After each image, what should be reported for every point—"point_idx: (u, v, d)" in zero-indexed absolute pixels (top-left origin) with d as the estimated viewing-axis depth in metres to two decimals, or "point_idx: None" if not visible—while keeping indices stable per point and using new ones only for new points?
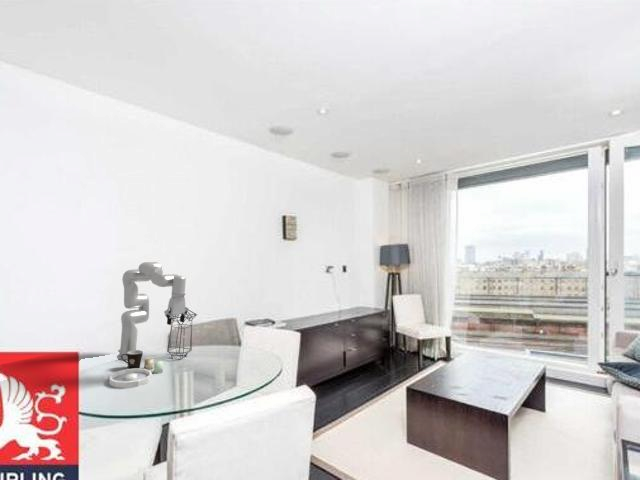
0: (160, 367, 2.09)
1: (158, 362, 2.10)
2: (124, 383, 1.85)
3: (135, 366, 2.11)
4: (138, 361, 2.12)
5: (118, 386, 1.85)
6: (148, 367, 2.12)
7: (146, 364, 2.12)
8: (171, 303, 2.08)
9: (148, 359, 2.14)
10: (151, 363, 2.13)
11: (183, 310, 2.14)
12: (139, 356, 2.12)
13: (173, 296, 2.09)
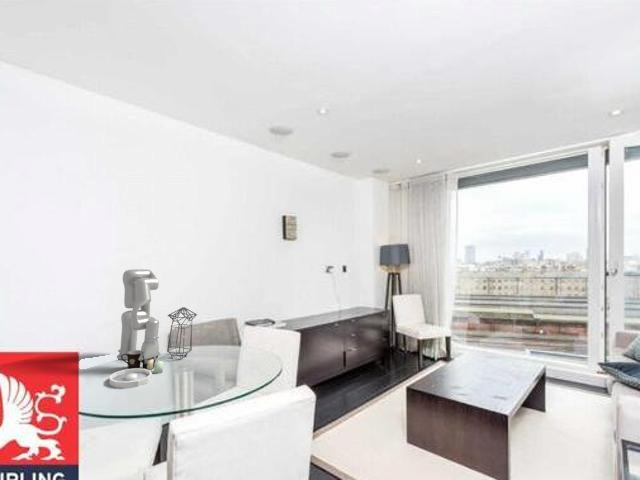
0: (160, 367, 2.09)
1: (158, 362, 2.10)
2: (124, 383, 1.85)
3: (135, 366, 2.11)
4: (138, 361, 2.12)
5: (118, 386, 1.85)
6: (148, 367, 2.12)
7: None
8: (144, 348, 2.10)
9: (148, 359, 2.14)
10: (151, 363, 2.13)
11: (156, 353, 2.16)
12: (139, 356, 2.12)
13: (146, 340, 2.11)
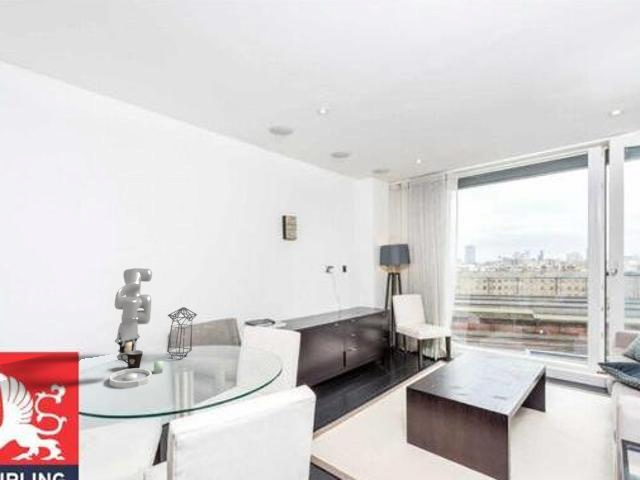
0: (160, 367, 2.09)
1: (158, 362, 2.10)
2: (124, 383, 1.85)
3: (135, 366, 2.11)
4: (138, 361, 2.12)
5: (118, 386, 1.85)
6: (126, 350, 1.96)
7: None
8: (121, 329, 1.94)
9: (126, 341, 1.98)
10: (129, 346, 1.97)
11: (135, 335, 2.01)
12: (139, 356, 2.12)
13: (123, 321, 1.96)
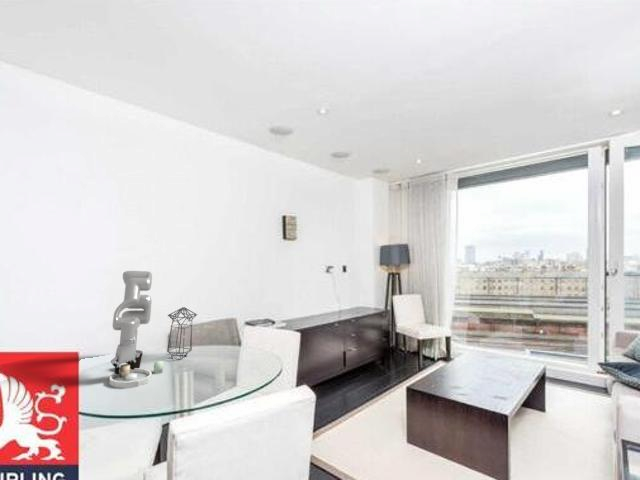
0: (160, 367, 2.09)
1: (158, 362, 2.10)
2: (124, 383, 1.85)
3: (135, 366, 2.11)
4: (138, 361, 2.12)
5: (118, 386, 1.85)
6: (124, 374, 1.96)
7: (121, 371, 1.96)
8: (119, 351, 1.94)
9: (124, 365, 1.98)
10: (127, 370, 1.97)
11: (133, 357, 2.00)
12: (139, 356, 2.12)
13: (121, 343, 1.95)
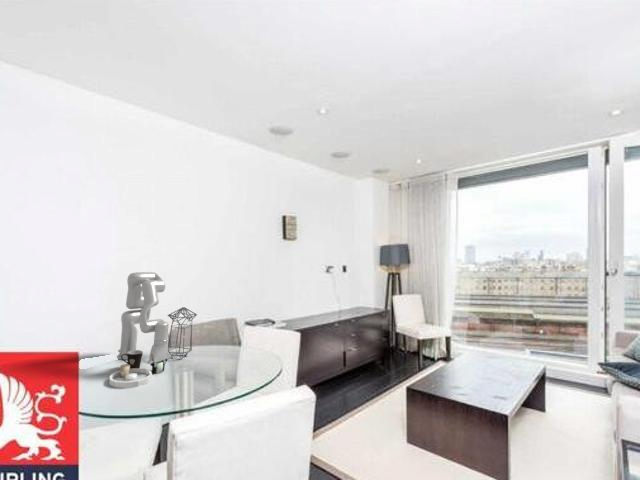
0: (160, 367, 2.08)
1: (158, 362, 2.10)
2: (124, 383, 1.85)
3: (135, 366, 2.11)
4: (138, 361, 2.12)
5: (118, 386, 1.85)
6: (124, 374, 1.96)
7: (121, 371, 1.96)
8: (153, 350, 2.06)
9: (124, 365, 1.98)
10: (127, 370, 1.97)
11: (166, 356, 2.12)
12: (139, 356, 2.12)
13: (155, 343, 2.07)
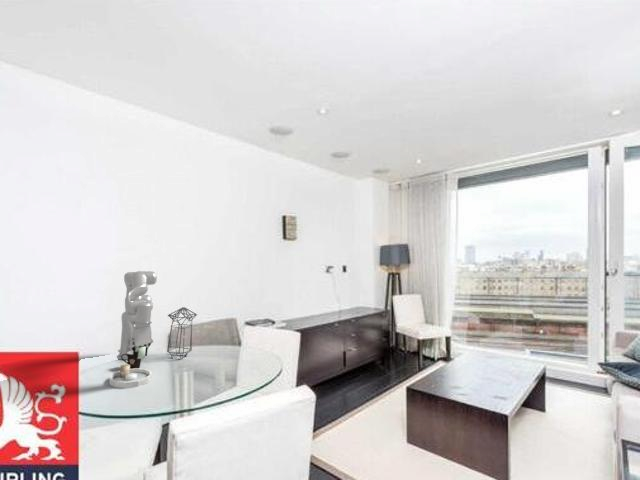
0: (142, 352, 1.91)
1: (140, 346, 1.93)
2: (124, 383, 1.85)
3: (135, 366, 2.11)
4: (138, 361, 2.12)
5: (118, 386, 1.85)
6: (124, 374, 1.96)
7: (121, 371, 1.96)
8: (134, 333, 1.89)
9: (124, 365, 1.98)
10: (127, 370, 1.97)
11: (149, 340, 1.95)
12: None
13: (137, 325, 1.90)
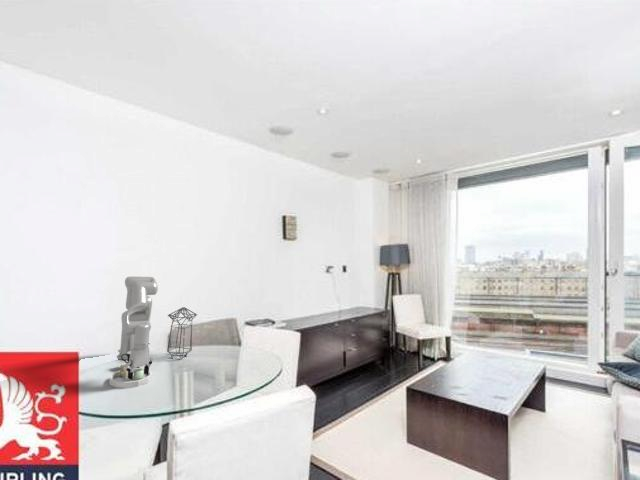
0: (140, 376, 1.91)
1: (138, 370, 1.93)
2: (124, 383, 1.85)
3: None
4: None
5: (118, 386, 1.85)
6: (124, 374, 1.96)
7: (121, 371, 1.96)
8: (132, 355, 1.88)
9: None
10: None
11: (147, 361, 1.95)
12: None
13: (135, 347, 1.89)
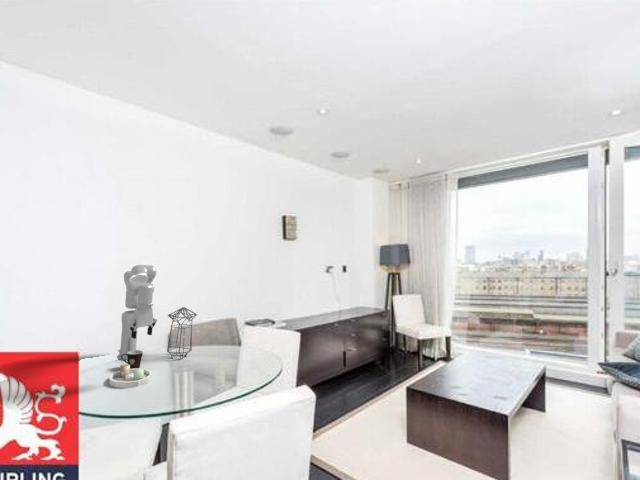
0: (140, 376, 1.91)
1: (138, 370, 1.93)
2: (124, 383, 1.85)
3: (135, 366, 2.11)
4: (138, 361, 2.12)
5: (118, 386, 1.85)
6: (124, 374, 1.96)
7: (121, 371, 1.96)
8: (136, 315, 1.89)
9: (124, 365, 1.98)
10: (127, 370, 1.97)
11: (150, 322, 1.95)
12: (139, 356, 2.12)
13: (138, 307, 1.90)
